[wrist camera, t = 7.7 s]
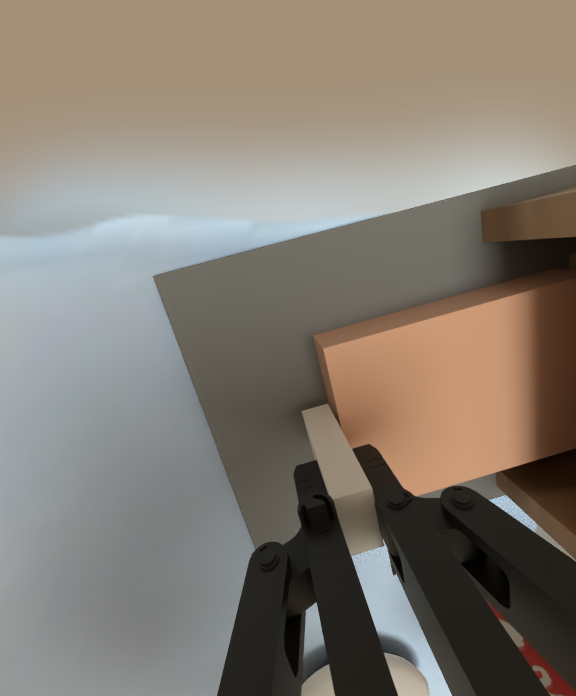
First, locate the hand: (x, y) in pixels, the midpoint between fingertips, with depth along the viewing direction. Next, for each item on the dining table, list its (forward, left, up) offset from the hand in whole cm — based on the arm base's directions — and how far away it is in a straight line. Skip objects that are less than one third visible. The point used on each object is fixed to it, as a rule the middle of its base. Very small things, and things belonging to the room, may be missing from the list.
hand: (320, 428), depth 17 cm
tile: (+8, 0, -1) cm, 8 cm away
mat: (+8, 0, -2) cm, 8 cm away
